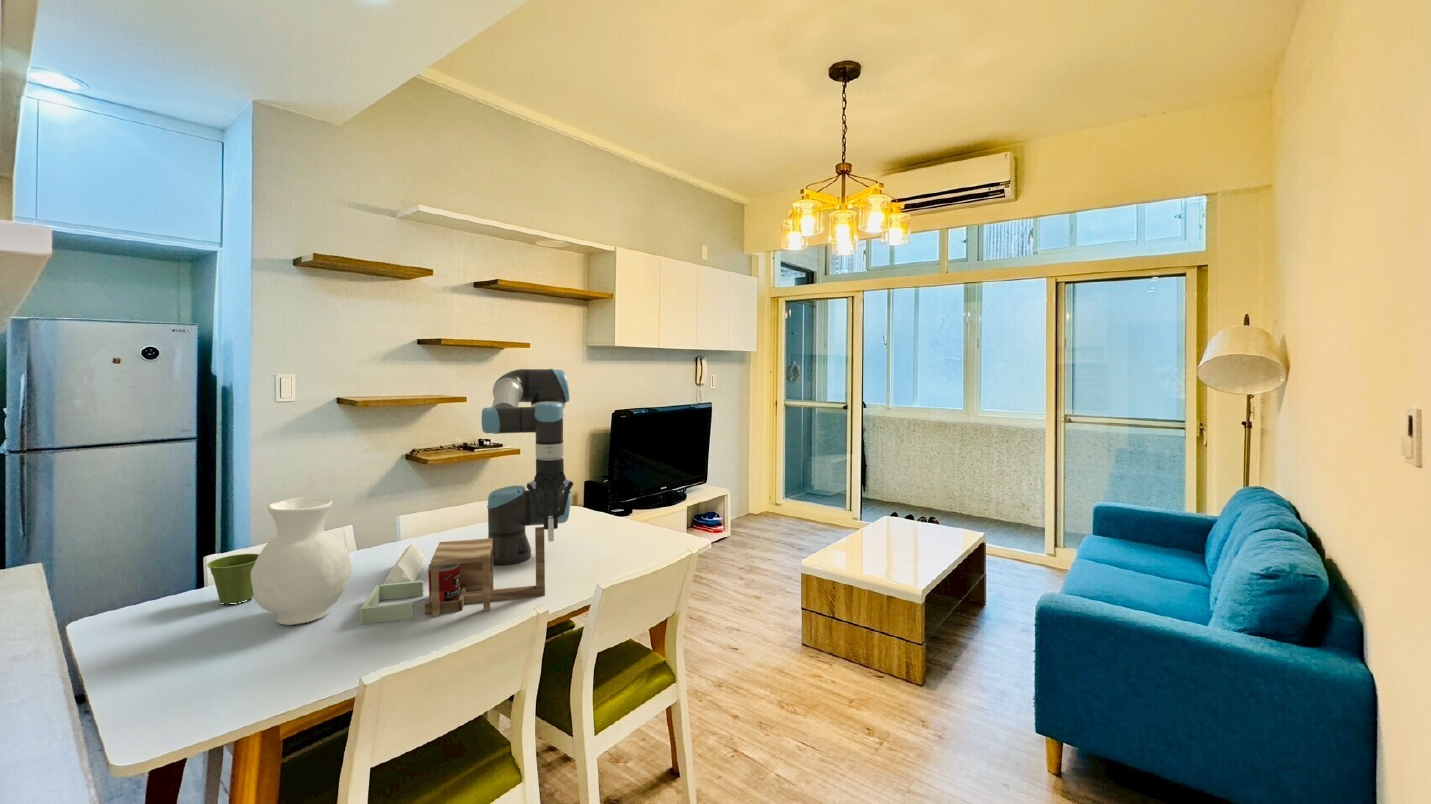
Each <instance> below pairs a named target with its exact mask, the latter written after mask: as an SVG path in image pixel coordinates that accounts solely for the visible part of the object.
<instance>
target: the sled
mask: <svg viewBox="0 0 1431 804" xmlns="http://www.w3.org/2000/svg"><path fill="white" fill-rule="evenodd" d="M534 531H535V532H534V534H535V538H534V540H535V545H534V547H535V549H534V550H535V585H528V586H527V585H525V586H515V587H507V588H506V587H504V588H495V589H494V588H493V589H490V602H492V601H493V602H494V601H500V600H501V601H503V600H513V599H523V598H533V597H542V596H543V597H544V596H546V582H545V581H546V575H545V573H546V570H545V569H546V568H545V562H546V561H545V557H546V556H545V555H546V554H545V529H544V526H536V527H534ZM482 602H483V590H480V591H469V592H467V585H460V596H459V600H456V601H446V602H440V614H441V613H451V612H459V611H463V609H464V605H465V604H474V603H482ZM424 615H432V603H429V602H428V603H427V602H426V603H424Z"/></svg>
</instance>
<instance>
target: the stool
mask: <svg viewBox="0 0 1431 804" xmlns="http://www.w3.org/2000/svg"><path fill="white" fill-rule="evenodd" d="M430 564H431V591H432V614H431V617H432V618H435V617H440V614H441V613H440V601H439V565H449V564H460V585H467V592H473V591H483V612H490V611H491V601H490V590H494V565H493V538H488V537H487V538H477V539H476V538H475V539H463V540H452V541H451V540H450V541H448V540H447V541H440V542H438V545H437V547H436V549H435V551H434V553H433V555H432V557H431V560H430Z"/></svg>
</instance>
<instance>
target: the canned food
mask: <svg viewBox="0 0 1431 804" xmlns="http://www.w3.org/2000/svg"><path fill="white" fill-rule="evenodd" d="M427 570H428V571H427V573H428V598H429V599H428V600H429V601H428V603H432V591H431V563H429V564H428V569H427ZM459 596H460V564H449V565H439V601H440V602H446V601H456V600H459Z"/></svg>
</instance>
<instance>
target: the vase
mask: <svg viewBox="0 0 1431 804" xmlns="http://www.w3.org/2000/svg"><path fill="white" fill-rule="evenodd" d="M332 506H333V500H331V499H330V498H329V497H328V498H326V497H321V496H299V497H292V498H288V499H285V500H280V501H278V502H273V503H271V504H269V505H268V506H267V511H268V513H269V514H270V516H271V517H272V520H273V521H274V522H275V526H276V530H277V536H276V537H274V538H272V539H271V540H270V541H269V542H268V543H266V544H265V546H264V547H263V548H262V550H261V551H260V553H258V554H259V556H258V558H257V560H256V561H255V564H254V566H253V568H252V570H251V584H252V588H253V594H254V597H253V599H254V600H255V602H256V603H257V604H258V605H259V606H260V607H261V608H262V609H264V610H266V611H268V612H271V613H273V614H276V622H277V623H278V624H280V625H283V624H284V626H292V625H294V624H295V625H300V623H301V624H305V623H306V622H307V623H310V621H311V622H313V620H314V621H317V620H320V619H322V618H324V617H326V616H327V615H328V614H329V613H330V612H331V607H332V606H333V605H335V604H336V603H337V602H338V600H339V598H340V597H341V596H342V594H343V593H344V590H345V589H346V587H347V585H348V583H349V579H350V577H351V573H352V563H351V557H350V554H349V550H348V548H347V546H346V544H345V542H344V541H343V540H341V539H340V538H339V537H336V536H335V535H334V534H331V533H330V532H326V531H325V522H326V519H327V516H328V514H329V511H330V509H331V507H332ZM325 615H326V616H325ZM316 619H317V620H316ZM295 625H294V626H295Z"/></svg>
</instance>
